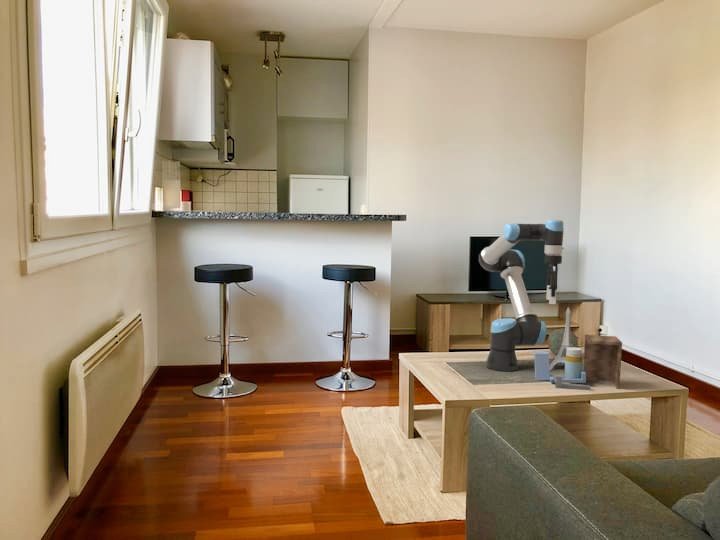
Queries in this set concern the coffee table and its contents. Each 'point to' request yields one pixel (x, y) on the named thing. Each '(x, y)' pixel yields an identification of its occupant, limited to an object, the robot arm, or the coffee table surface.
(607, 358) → the cubby
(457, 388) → the coffee table surface
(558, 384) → the grey long bar
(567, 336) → the eiffel tower
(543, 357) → the pale blue bracket stand
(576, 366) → the bottle
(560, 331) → the decorative sphere
